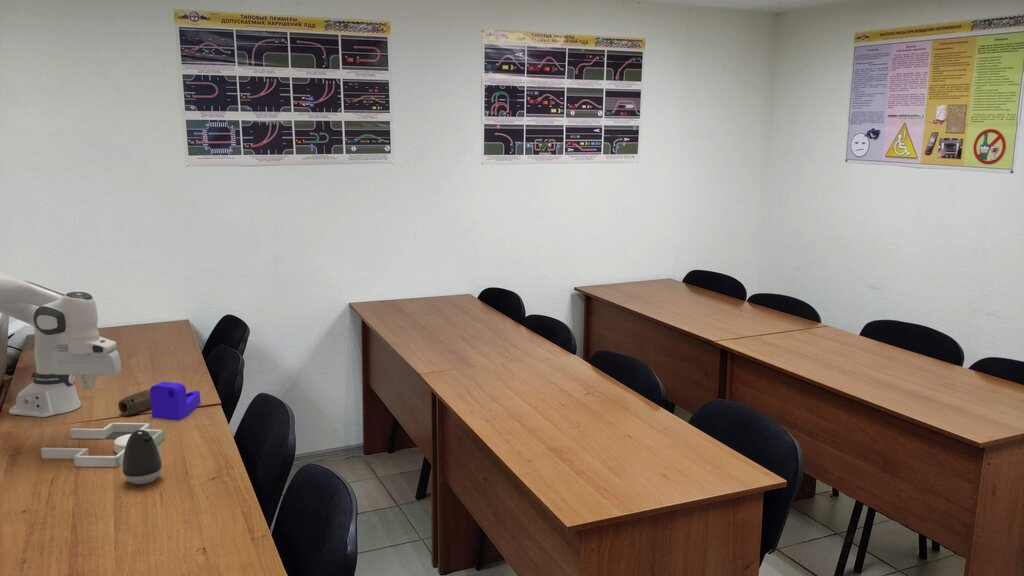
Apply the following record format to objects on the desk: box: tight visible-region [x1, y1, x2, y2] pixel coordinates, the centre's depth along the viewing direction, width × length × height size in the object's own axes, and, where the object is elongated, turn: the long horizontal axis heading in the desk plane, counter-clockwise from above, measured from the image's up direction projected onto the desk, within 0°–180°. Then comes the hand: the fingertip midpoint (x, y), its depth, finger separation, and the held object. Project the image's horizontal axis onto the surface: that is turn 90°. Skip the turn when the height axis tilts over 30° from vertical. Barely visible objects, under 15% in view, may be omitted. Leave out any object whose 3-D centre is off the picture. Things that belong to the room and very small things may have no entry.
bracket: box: [149, 381, 201, 421], centre depth 286 cm, size 18×11×12 cm, turn 165°
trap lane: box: [40, 422, 166, 468], centre depth 252 cm, size 30×28×3 cm
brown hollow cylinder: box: [117, 389, 151, 416], centre depth 286 cm, size 15×7×7 cm, turn 162°
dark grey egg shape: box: [121, 430, 163, 485], centre depth 228 cm, size 10×10×15 cm
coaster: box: [113, 434, 131, 455], centre depth 252 cm, size 10×10×4 cm
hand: (88, 388), depth 250 cm, fingers closed
